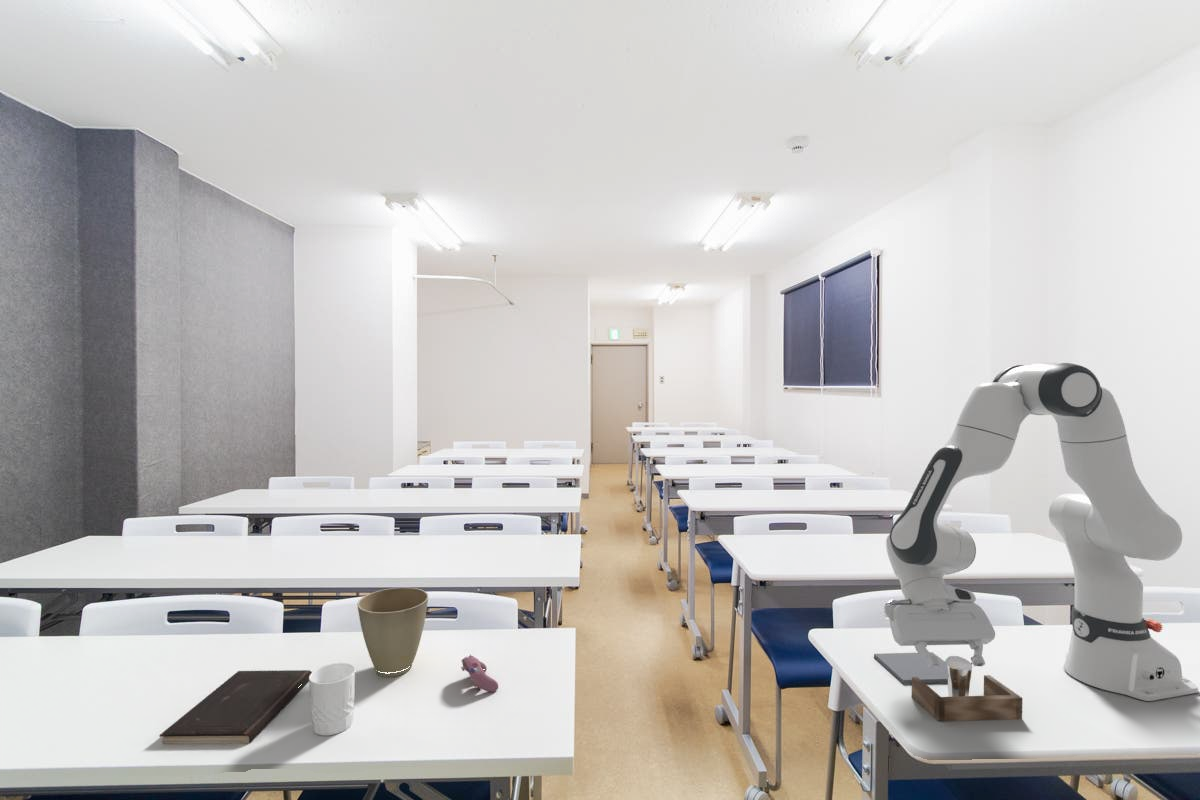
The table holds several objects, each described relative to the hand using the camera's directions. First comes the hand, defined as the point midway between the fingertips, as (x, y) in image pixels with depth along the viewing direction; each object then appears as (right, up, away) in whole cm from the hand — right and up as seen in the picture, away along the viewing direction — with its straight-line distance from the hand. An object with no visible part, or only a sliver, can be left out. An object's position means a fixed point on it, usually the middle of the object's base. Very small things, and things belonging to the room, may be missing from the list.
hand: (957, 665), depth 117 cm
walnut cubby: (0, -7, -2) cm, 7 cm away
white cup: (-122, -8, -8) cm, 122 cm away
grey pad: (-1, -7, +13) cm, 15 cm away
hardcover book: (-142, -8, -2) cm, 142 cm away
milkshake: (0, -7, -1) cm, 7 cm away
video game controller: (-97, -7, +7) cm, 98 cm away
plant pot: (-118, -7, +14) cm, 119 cm away
